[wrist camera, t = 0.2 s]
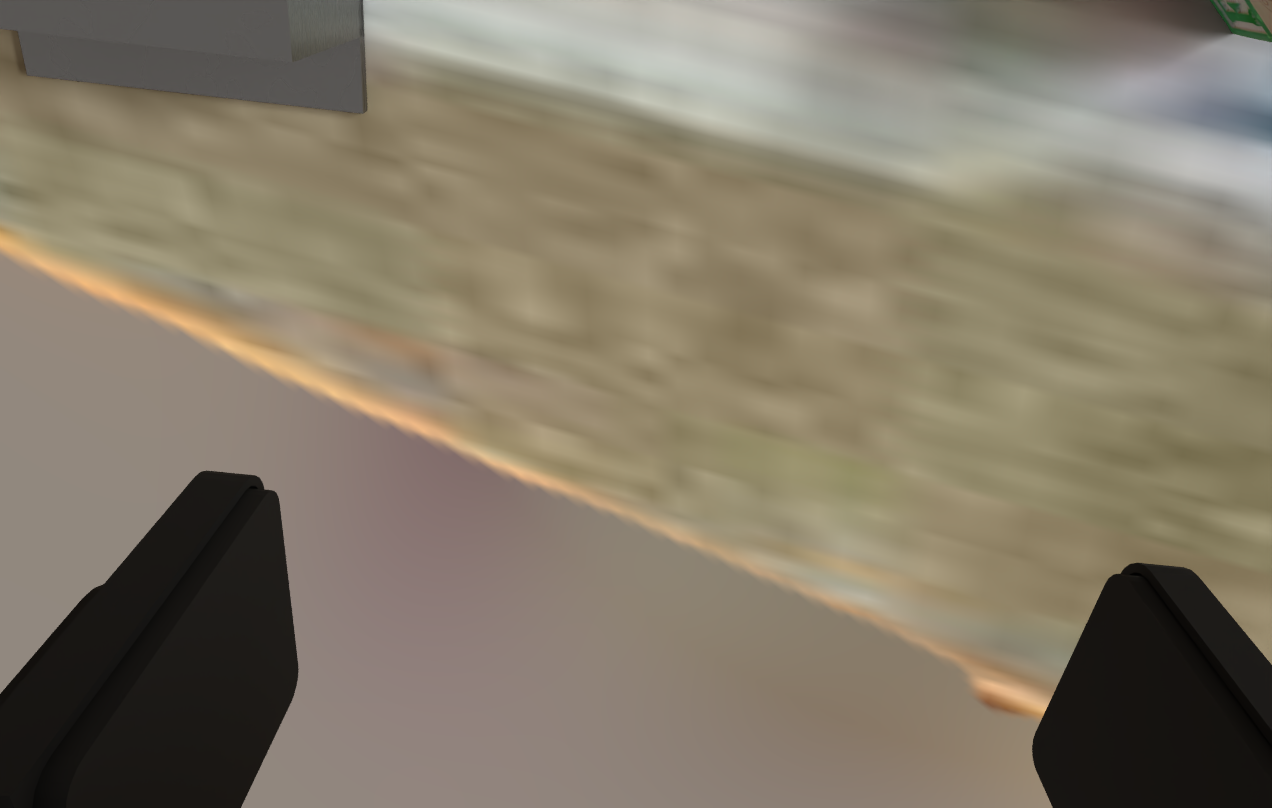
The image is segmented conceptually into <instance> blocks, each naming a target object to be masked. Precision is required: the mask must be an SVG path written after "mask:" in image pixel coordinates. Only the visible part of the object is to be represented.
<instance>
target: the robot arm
mask: <svg viewBox="0 0 1272 808" xmlns="http://www.w3.org/2000/svg"><path fill="white" fill-rule="evenodd" d="M297 680H298V661H297V651H296V643H295V634H294V625H293V616H292V608H291V599H290V590H289V581H288V574H287V564H286V555H285V546H284V538H283V530H282V521H281V512H280V504H279V498H278V496H277V493H276V492H275V491H272V490H264V486H263V483H262V481H261V479H260V478H259V477H257V476H255V475H245V474H235V473H225V472H214V471H203V472H200V473H199V474H198V475H197V476H195V478H194V479H193V480H192V481H191V482H190V483H189V484H188V486H187V487H186V488H185V489H184V490H183V492H182V493H181V494H180V495H179V496H178V497H177V499H176V500H175V501H174V502H173V503H172V505H171V506H170V507H169V508H168V509H167V511H166V512H165V513H164V514H163V515H162V517H161V518H160V519H159V520H158V521H157V522H156V523H155V525H154V526H153V527H152V528H151V530H150V531H149V532H148V533H147V534H146V535H145V537H144V538H143V539H142V540H141V541H140V542H139V544H138V545H137V546H136V547H135V548H134V549H133V551H132V552H131V553H130V554H129V555H128V557H127V558H126V559H125V560H124V561H123V563H122V564H121V565H120V566H119V567H118V568H117V570H116V571H115V572H114V573H113V574H112V575H111V577H110V578H109V579H108V580H107V581H106V583H105V584H103V585H101V586H98V587H96V588H94V589H93V590H91V591H90V592H89V593H88V594H87V595H86V596H85V597H84V598H83V599H82V600H81V601H80V602H79V603H78V604H77V606H76V607H75V608H74V609H73V610H72V611H71V612H70V614H69V615H68V616H67V617H66V618H65V619H64V620H63V622H62V623H61V624H60V625H59V627H57V629H56V630H55V631H54V632H53V633H52V634H51V636H50V637H49V638H48V639H47V640H46V641H45V643H44V644H43V645H42V646H41V647H40V648H39V650H38V651H37V652H36V653H35V654H34V655H33V657H32V658H31V659H30V660H29V661H28V662H27V664H26V665H25V666H24V667H23V668H22V669H21V671H20V672H19V673H18V674H17V675H16V676H15V678H14V679H13V680H12V681H11V682H10V683H9V685H8V686H7V687H6V688H5V689H4V690H3V691H2V693H1V694H0V808H241V806H242V804H243V802H244V800H245V798H246V796H247V793H248V792H249V789H250V787H251V785H252V783H253V781H254V779H255V777H256V775H257V773H258V770H259V768H260V766H261V764H262V762H263V760H264V758H265V756H266V754H267V751H268V749H269V747H270V745H271V743H272V741H273V739H274V737H275V735H276V732H277V730H278V729H279V726H280V724H281V722H282V720H283V718H284V716H285V714H286V712H287V710H288V707H289V705H290V703H291V701H292V698H293V696H294V693H295V689H296V685H297ZM1032 750H1033V751H1032V752H1033V761H1034V765H1035V768H1036V771H1037V773H1038V775H1039V778H1040V780H1041V782H1042V784H1043V787H1044V789H1045V791H1046V793H1047V796H1048V798H1049V800H1050V802H1051V805H1052V806H1053V808H1272V665H1271V663H1270V662H1269V661H1268V660H1267V659H1266V657H1265V656H1264V655H1263V654H1262V653H1261V651H1260V650H1259V649H1258V648H1257V647H1256V645H1255V644H1254V643H1253V642H1252V641H1251V639H1250V638H1249V637H1248V636H1247V635H1246V633H1245V632H1244V631H1243V630H1242V628H1241V627H1240V626H1239V625H1238V624H1237V622H1236V621H1235V620H1234V619H1233V618H1232V616H1231V615H1230V614H1229V613H1228V612H1227V610H1226V609H1225V608H1224V607H1223V606H1222V604H1221V603H1220V602H1219V601H1218V599H1217V598H1216V597H1215V596H1214V595H1213V593H1212V592H1211V591H1210V590H1209V589H1208V587H1207V586H1206V585H1205V584H1204V583H1203V581H1202V580H1201V579H1200V578H1199V577H1198V576H1197V575H1196V574H1195V573H1194V572H1193V571H1192V570H1190V569H1187V568H1184V567H1174V566H1164V565H1154V564H1144V563H1133V564H1130V565H1128V566H1127V567H1125V568H1124V569H1123V571H1122V572H1121V574H1115V575H1113V576H1111V577H1110V578H1109V579H1108V580H1107V582H1106V584H1105V586H1104V588H1103V590H1102V592H1101V594H1100V596H1099V598H1098V600H1097V603H1096V605H1095V607H1094V609H1093V611H1092V613H1091V615H1090V618H1089V620H1088V622H1087V624H1086V626H1085V628H1084V630H1083V632H1082V635H1081V637H1080V639H1079V641H1078V643H1077V645H1076V647H1075V650H1074V652H1073V654H1072V656H1071V658H1070V660H1069V662H1068V664H1067V667H1066V669H1065V671H1064V673H1063V675H1062V677H1061V679H1060V682H1059V684H1058V686H1057V688H1056V690H1055V692H1054V694H1053V697H1052V699H1051V701H1050V703H1049V705H1048V707H1047V709H1046V711H1045V714H1044V716H1043V718H1042V720H1041V722H1040V724H1039V726H1038V729H1037V731H1036V733H1035V736H1034V739H1033V745H1032Z"/></svg>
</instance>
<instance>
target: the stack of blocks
mask: <svg viewBox="0 0 1272 808" xmlns="http://www.w3.org/2000/svg"><path fill="white" fill-rule="evenodd" d="M1210 1H1211V2H1212V4H1213V5H1214V7H1215V8H1216V10H1217V11H1218V13H1219V14H1220V15H1221V17H1222V18H1223V20H1224V21H1225V22H1226V24H1227V26H1228V27H1229V29H1230V30H1231V32H1232V33H1233V34H1237V35H1241V36H1245V37H1249V38H1254V39H1258V40H1263V41H1268V42H1272V0H1210Z"/></svg>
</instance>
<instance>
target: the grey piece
mask: <svg viewBox="0 0 1272 808" xmlns="http://www.w3.org/2000/svg"><path fill="white" fill-rule="evenodd" d="M0 29H6V30H15V31H18V35H19V40H20V45H21V49H22V54H23V58H24V63H25V67H26V72H27V75H29V76H38V77H47V78H56V79H64V80H73V81H82V82H91V83H99V84H108V85H117V86H126V87H135V88H143V89H152V90H161V91H170V92H178V93H187V94H196V95H205V96H213V97H222V98H231V99H240V100H249V101H257V102H266V103H275V104H284V105H292V106H301V107H310V108H319V109H327V110H336V111H345V112H354V113H365V112H366V111H367V93H366V68H365V44H364V20H363V0H0Z"/></svg>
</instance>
